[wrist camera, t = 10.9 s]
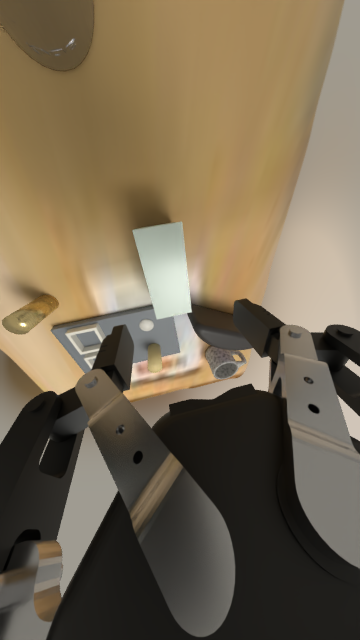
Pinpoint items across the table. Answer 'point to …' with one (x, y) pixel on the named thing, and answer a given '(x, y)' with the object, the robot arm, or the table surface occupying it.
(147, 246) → the block
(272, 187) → the table surface
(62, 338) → the board
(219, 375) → the mug
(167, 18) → the table surface
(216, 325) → the leaning round-cornered charcoal block
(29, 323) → the pin
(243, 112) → the table surface
